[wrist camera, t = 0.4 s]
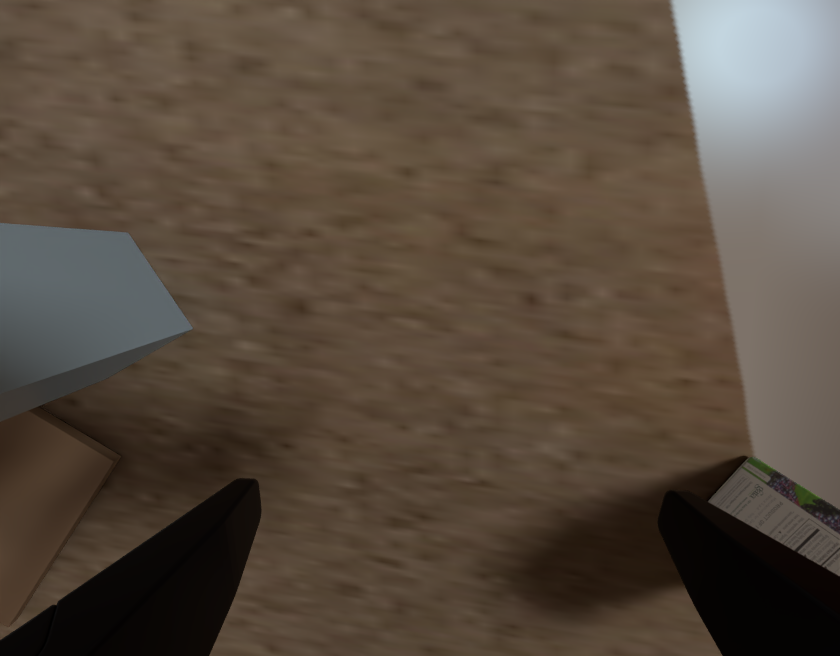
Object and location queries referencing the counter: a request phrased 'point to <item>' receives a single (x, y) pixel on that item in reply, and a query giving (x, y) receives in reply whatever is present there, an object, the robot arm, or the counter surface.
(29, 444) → the post base
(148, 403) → the counter surface
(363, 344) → the counter surface
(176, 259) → the counter surface
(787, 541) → the syrup box
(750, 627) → the robot arm
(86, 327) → the tall slate pillar
